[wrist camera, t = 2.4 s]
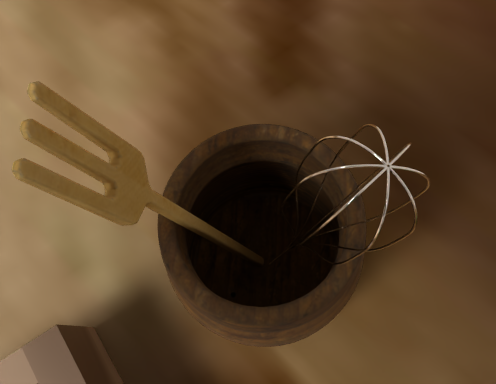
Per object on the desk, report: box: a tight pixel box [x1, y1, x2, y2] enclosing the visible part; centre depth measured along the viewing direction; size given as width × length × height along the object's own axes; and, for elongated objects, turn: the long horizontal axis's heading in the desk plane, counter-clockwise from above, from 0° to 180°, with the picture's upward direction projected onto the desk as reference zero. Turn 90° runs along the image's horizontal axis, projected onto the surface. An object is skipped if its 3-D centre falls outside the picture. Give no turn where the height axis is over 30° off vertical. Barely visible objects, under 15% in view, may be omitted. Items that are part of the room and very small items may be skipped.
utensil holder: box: [12, 82, 430, 347], centre depth 12 cm, size 6×6×12 cm
